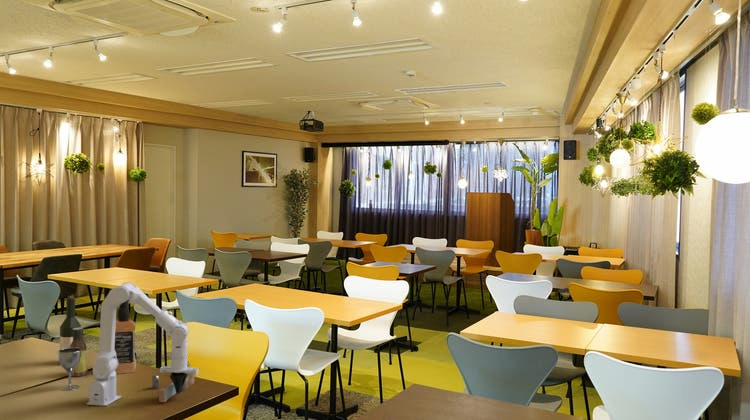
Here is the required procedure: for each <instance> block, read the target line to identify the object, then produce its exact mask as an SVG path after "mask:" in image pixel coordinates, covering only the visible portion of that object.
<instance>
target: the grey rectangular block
mask: <svg viewBox="0 0 750 420" xmlns="http://www.w3.org/2000/svg"><path fill="white" fill-rule="evenodd" d="M158 393H159V394H158V399H159V400H158V401H159V403H166V402H167V401H168V400H169V399H170V398H172V397H173V396H175V395H176V394H177V393H176V390H175V387H174V384H173V382H171V383H169V384H168V385H167V386H165V387H163V388H162V387H161V388H160V389H158Z"/></svg>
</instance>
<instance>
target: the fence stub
mask: <svg viewBox="0 0 750 420" xmlns="http://www.w3.org/2000/svg"><path fill="white" fill-rule="evenodd" d="M194 384H195V375H194V374H188V376H187V378H186V380H185V390H186V389H188V388H189V387H191V386H192V385H194Z"/></svg>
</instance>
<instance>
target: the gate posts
mask: <svg viewBox="0 0 750 420" xmlns="http://www.w3.org/2000/svg"><path fill="white" fill-rule="evenodd" d="M151 377H152V379H151V380H152V381H151V388H152V389H153V390H159V388H160V385H159V384H160V382H159V381H160V374H152V376H151ZM185 390H186V389H185V382H184V385H183V388H182V392H183V391H185Z"/></svg>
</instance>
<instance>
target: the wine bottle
mask: <svg viewBox="0 0 750 420" xmlns="http://www.w3.org/2000/svg"><path fill="white" fill-rule="evenodd" d="M65 306H66V307H65V308H66V311H65V312H66V314H65V315H66V317H65V319H64V320H63V321H62V323H61V325H60V326H59V350H61V349H64V348H70V345H71V343H72V341H73V332H72V329H73V328H79V327H82V325H81V323H80V321H78V319H77V317H76V298H75V296H73V295H69V296H67V298H66V305H65Z"/></svg>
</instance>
